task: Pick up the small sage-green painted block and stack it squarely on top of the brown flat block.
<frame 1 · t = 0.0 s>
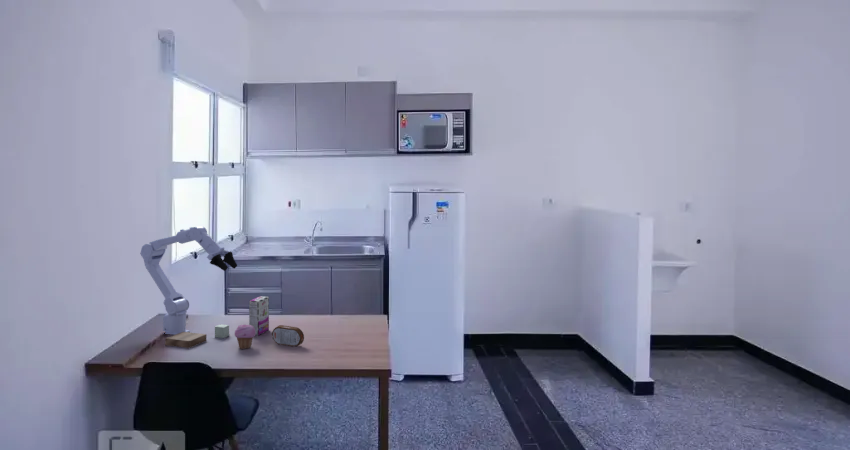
hand: (231, 268, 275), 32 cm above the table, tool tilted 50°, fingers open, 7 cm apart
cupcake: (245, 348, 264), on the table
brown flat block: (186, 342, 268), on the table
candy bar box: (258, 333, 289), on the table
sage block: (221, 336, 281), on the table
tin: (287, 345, 270), on the table
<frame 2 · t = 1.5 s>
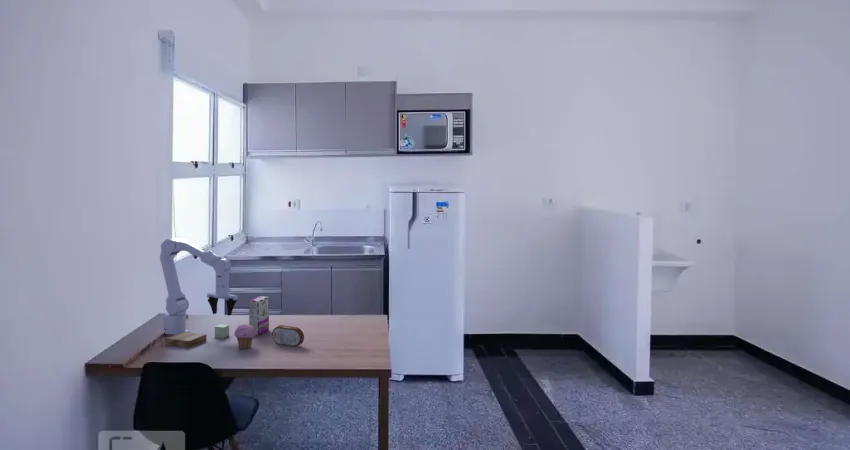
hand: (222, 314, 280), 10 cm above the table, tool pointing down, fingers open, 7 cm apart
nothing on the table moved.
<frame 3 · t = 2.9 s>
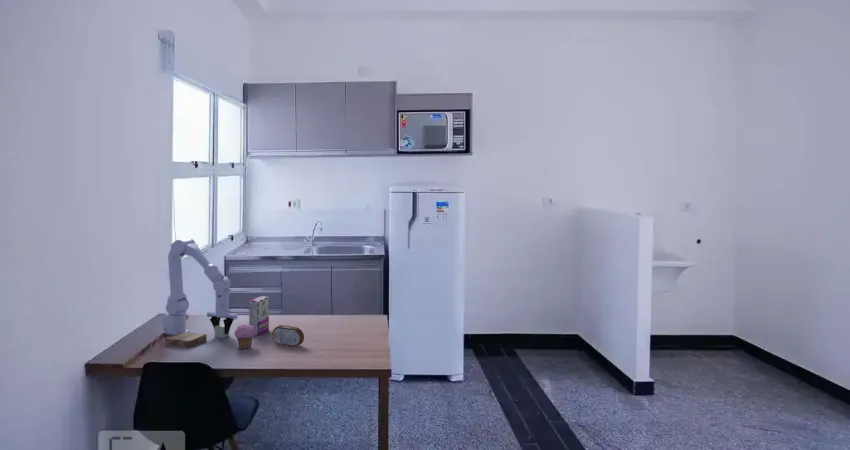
hand: (221, 333, 280), 1 cm above the table, tool pointing down, fingers closed on sage block, 4 cm apart
sage block: (221, 336, 281), on the table, touching gripper
everything else where it was.
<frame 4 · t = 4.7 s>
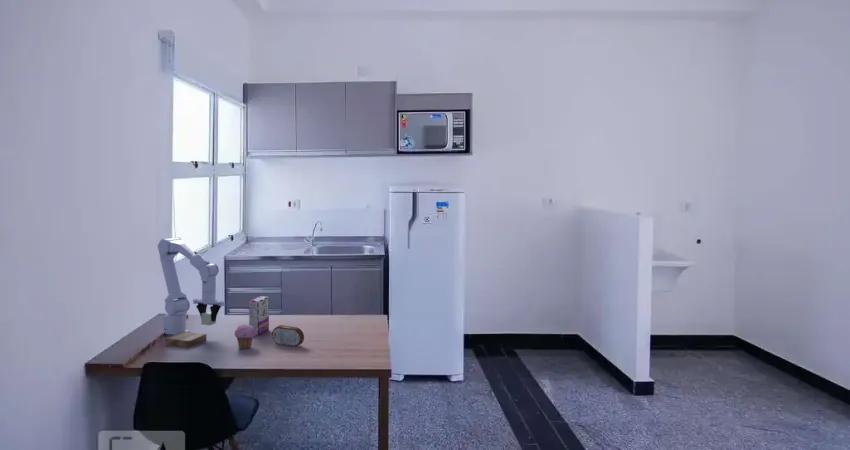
hand: (208, 320, 275), 8 cm above the table, tool pointing down, fingers closed on sage block, 4 cm apart
sage block: (208, 323, 275), point 7 cm above the table, touching gripper
everything else where it was.
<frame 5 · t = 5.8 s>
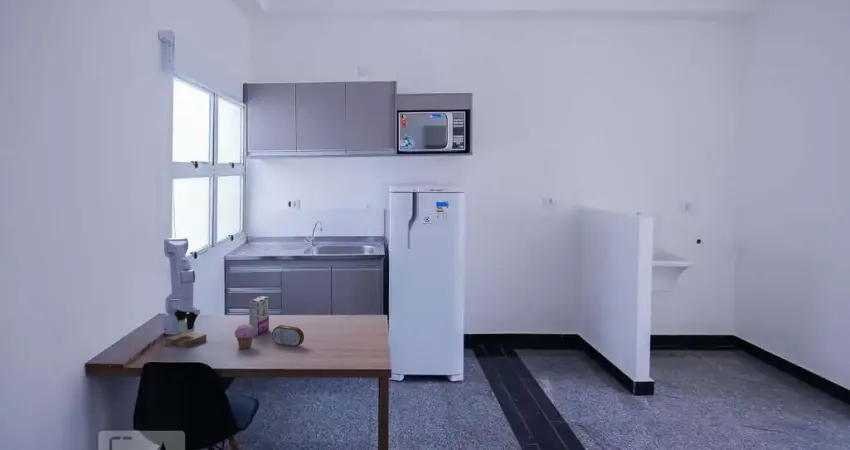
hand: (186, 328, 267), 7 cm above the table, tool pointing down, fingers closed on sage block, 4 cm apart
sage block: (186, 331, 268), point 5 cm above the table, touching gripper
everything else where it was.
when the fingers open (5 cm above the table, at t = 6.5 s): sage block stays where it is, resting on brown flat block.
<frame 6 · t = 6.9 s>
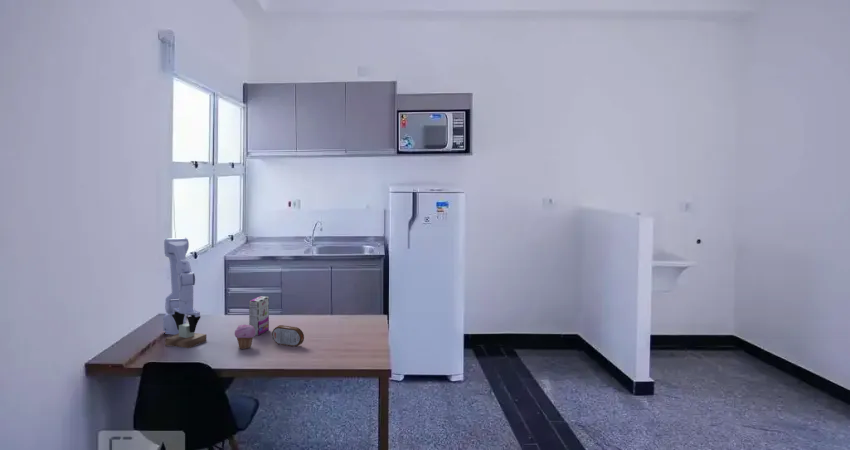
hand: (186, 330, 268), 5 cm above the table, tool pointing down, fingers open, 7 cm apart
sage block: (186, 336, 268), point 3 cm above the table, touching brown flat block
everything else where it was.
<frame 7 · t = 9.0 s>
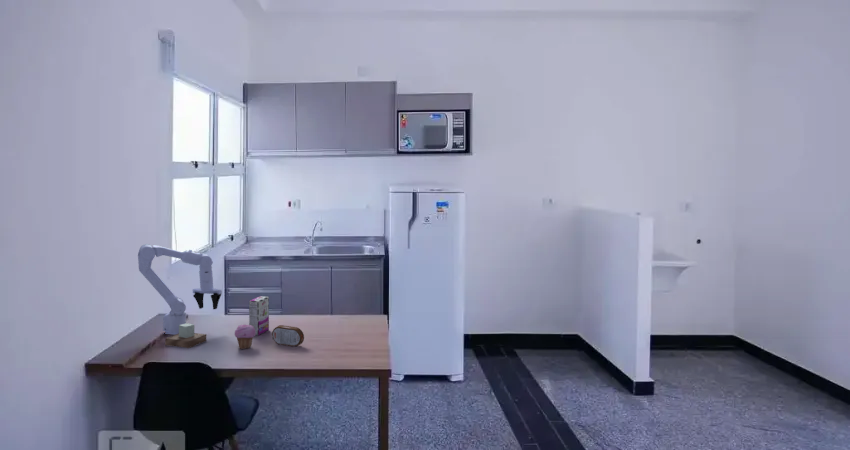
hand: (208, 308, 289), 10 cm above the table, tool pointing down, fingers open, 7 cm apart
nothing on the table moved.
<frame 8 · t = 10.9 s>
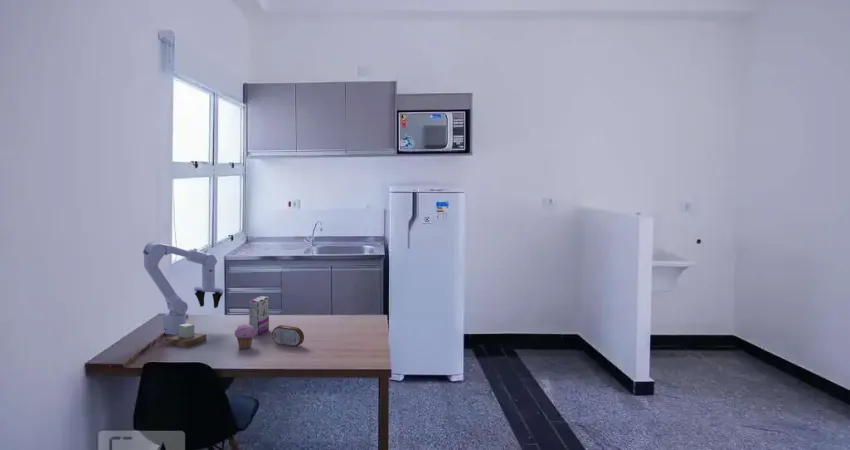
hand: (208, 306, 293), 10 cm above the table, tool pointing down, fingers open, 7 cm apart
nothing on the table moved.
at the end: sage block inside the target area on the brown flat block (0.2 cm from its centre), point 3.0 cm above the brown flat block's base; sage block tilted 0°; the gripper is holding nothing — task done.
